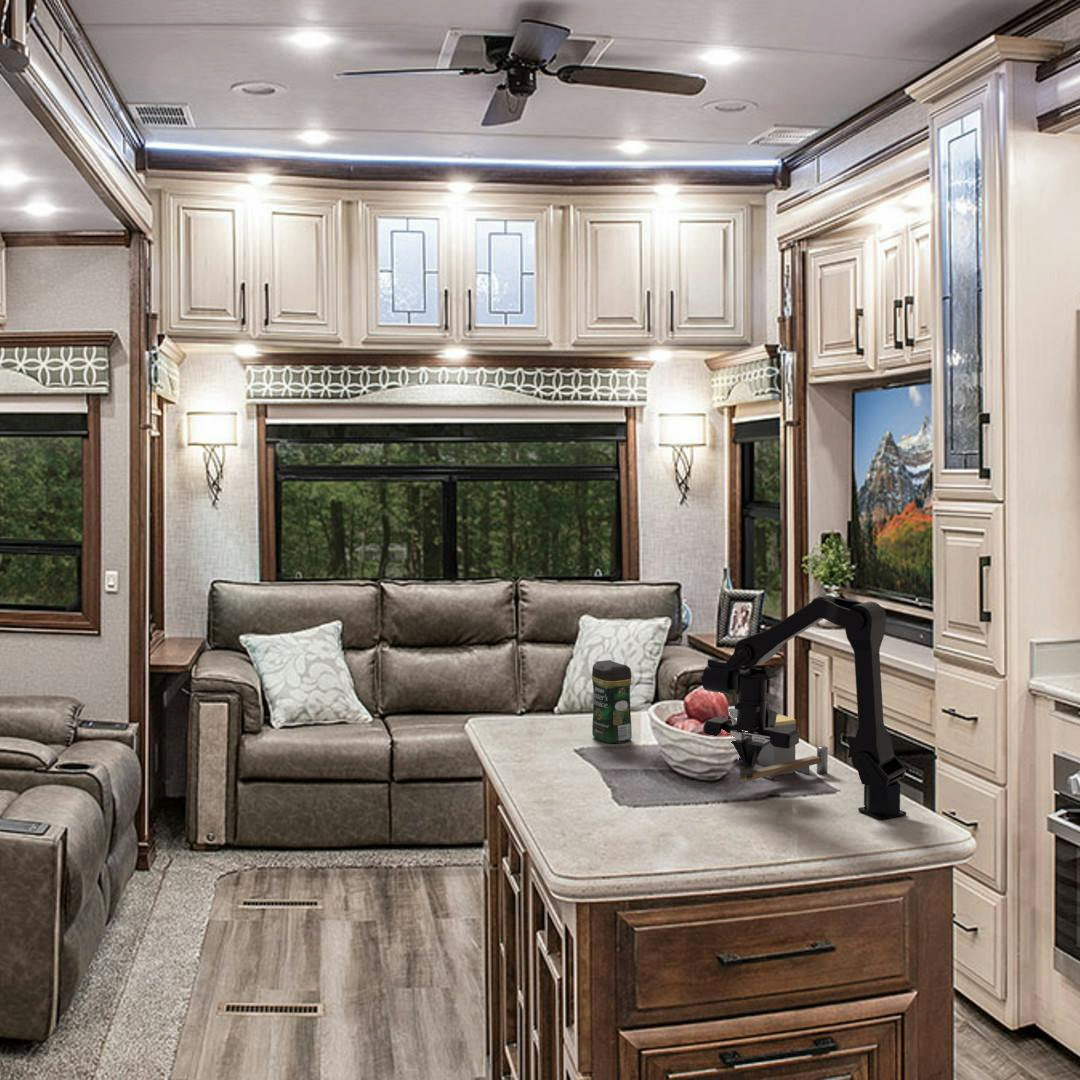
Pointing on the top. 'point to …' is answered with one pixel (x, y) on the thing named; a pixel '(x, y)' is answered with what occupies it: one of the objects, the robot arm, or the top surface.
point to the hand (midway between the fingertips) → (749, 773)
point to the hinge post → (822, 759)
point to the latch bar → (776, 768)
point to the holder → (757, 766)
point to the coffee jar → (611, 702)
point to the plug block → (777, 754)
